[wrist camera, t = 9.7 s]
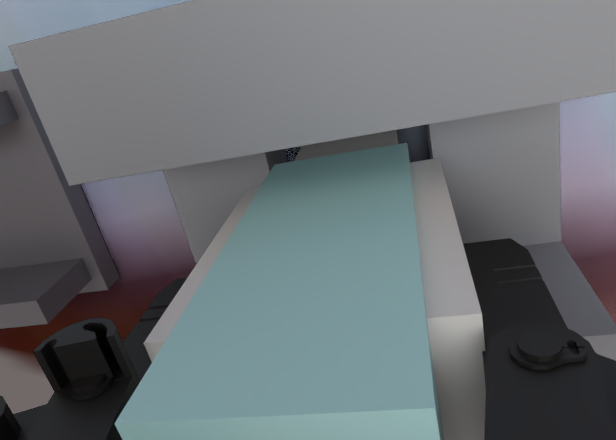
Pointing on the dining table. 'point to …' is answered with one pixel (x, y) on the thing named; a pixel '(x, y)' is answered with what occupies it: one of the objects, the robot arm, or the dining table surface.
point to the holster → (41, 220)
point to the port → (337, 105)
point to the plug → (305, 314)
